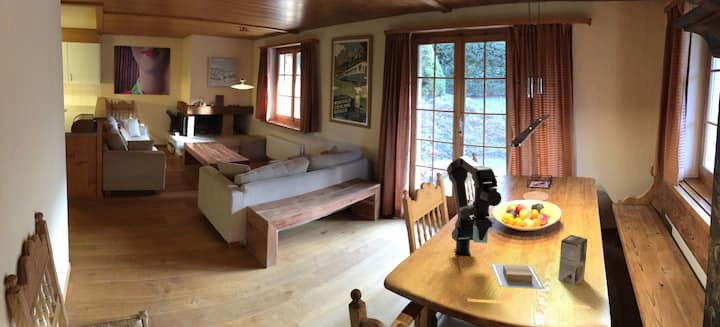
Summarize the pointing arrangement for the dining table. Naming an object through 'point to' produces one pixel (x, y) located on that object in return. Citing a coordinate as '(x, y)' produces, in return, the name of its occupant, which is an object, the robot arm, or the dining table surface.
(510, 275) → the plinth
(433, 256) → the dining table surface
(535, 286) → the board
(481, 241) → the teal block
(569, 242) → the coffee box
